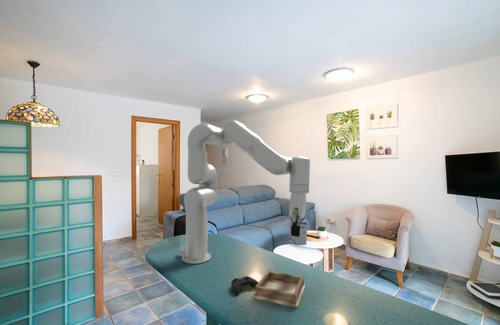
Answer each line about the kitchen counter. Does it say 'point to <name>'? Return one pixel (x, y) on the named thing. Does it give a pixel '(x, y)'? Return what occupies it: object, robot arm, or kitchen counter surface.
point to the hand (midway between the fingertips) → (297, 232)
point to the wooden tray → (280, 288)
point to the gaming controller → (242, 283)
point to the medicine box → (303, 233)
